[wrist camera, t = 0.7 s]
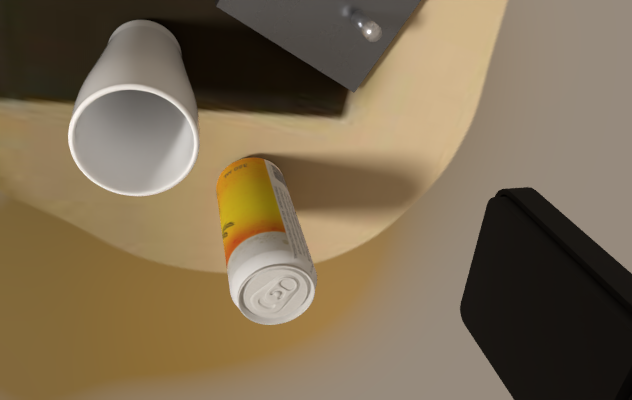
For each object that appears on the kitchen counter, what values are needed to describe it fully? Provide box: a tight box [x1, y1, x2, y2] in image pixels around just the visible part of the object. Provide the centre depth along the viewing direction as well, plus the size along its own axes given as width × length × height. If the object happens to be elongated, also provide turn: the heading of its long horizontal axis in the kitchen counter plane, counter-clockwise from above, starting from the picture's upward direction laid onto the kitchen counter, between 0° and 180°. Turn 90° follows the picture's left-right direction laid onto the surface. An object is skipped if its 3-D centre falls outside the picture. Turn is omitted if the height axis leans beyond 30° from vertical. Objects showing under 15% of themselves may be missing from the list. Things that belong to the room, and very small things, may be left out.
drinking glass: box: [68, 20, 200, 196], centre depth 35 cm, size 7×7×15 cm
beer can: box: [216, 157, 317, 325], centre depth 43 cm, size 6×6×15 cm
